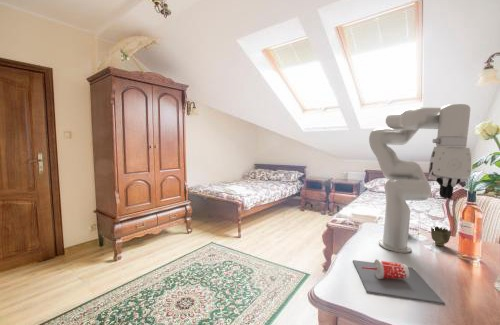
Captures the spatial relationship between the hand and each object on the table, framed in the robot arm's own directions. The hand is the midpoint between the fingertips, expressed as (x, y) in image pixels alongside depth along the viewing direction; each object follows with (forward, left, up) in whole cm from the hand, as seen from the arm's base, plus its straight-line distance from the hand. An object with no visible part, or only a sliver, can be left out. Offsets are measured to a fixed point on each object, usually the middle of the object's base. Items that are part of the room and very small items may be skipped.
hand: (445, 197), depth 78 cm
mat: (+4, -15, -29) cm, 33 cm away
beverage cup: (+4, -11, -26) cm, 28 cm away
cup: (-34, +18, -29) cm, 48 cm away
